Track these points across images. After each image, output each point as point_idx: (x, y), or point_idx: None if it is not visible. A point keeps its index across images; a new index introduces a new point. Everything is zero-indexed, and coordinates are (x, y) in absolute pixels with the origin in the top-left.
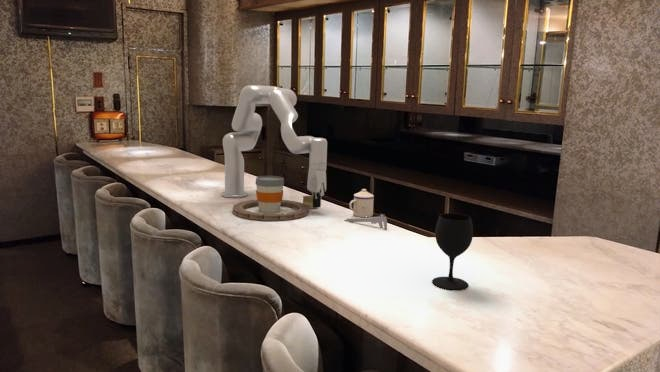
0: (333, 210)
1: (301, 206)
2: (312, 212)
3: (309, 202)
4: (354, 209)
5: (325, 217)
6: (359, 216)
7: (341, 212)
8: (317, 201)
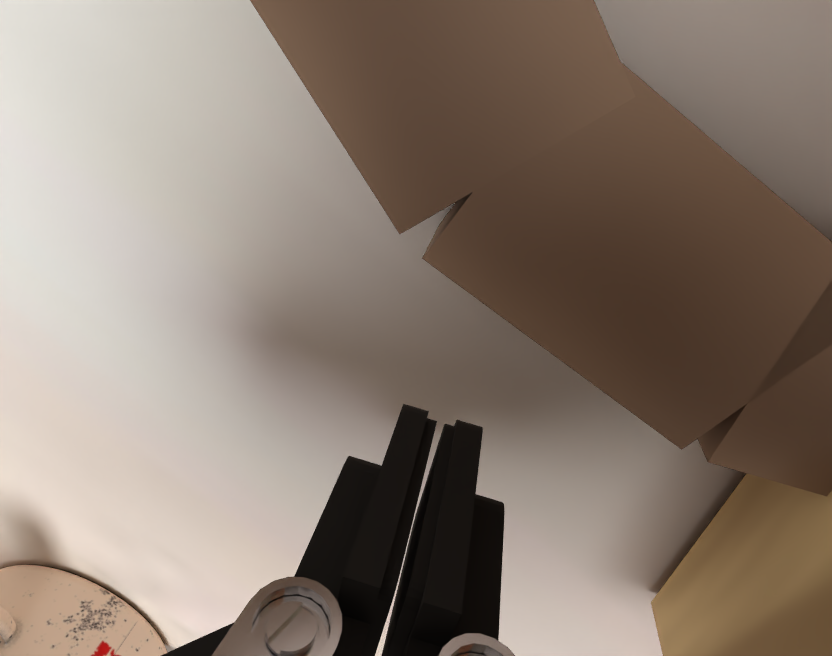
0: None
1: (763, 285)
2: (494, 356)
3: (782, 601)
4: (4, 640)
5: (92, 276)
6: (6, 568)
7: None
8: (309, 545)
